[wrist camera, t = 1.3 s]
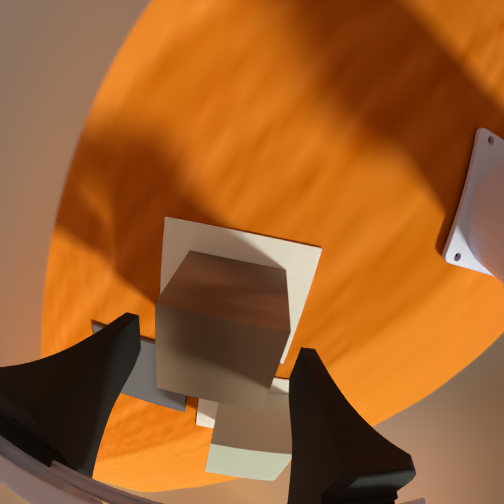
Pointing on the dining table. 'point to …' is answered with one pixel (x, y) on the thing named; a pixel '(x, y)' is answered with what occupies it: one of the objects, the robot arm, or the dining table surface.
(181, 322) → the walnut block
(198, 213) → the dining table surface
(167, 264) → the card
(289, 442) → the sage block
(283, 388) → the card
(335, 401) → the robot arm
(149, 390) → the coaster
